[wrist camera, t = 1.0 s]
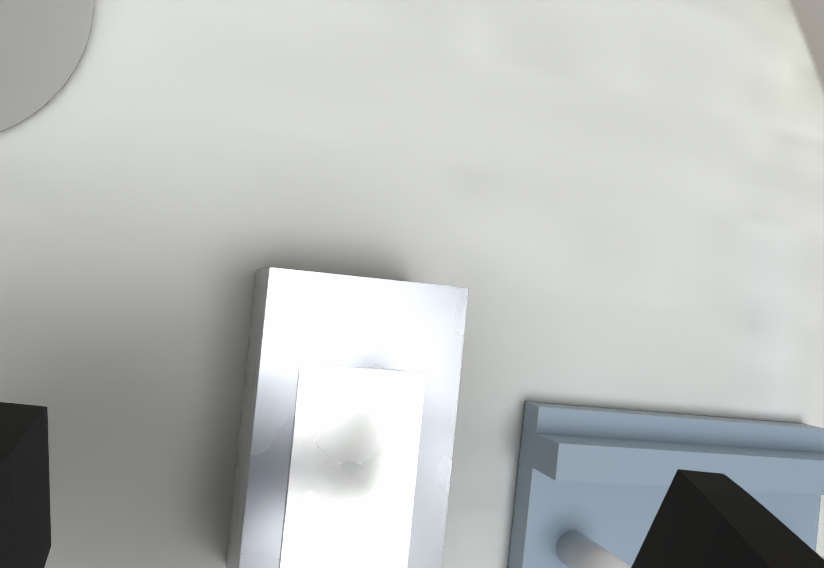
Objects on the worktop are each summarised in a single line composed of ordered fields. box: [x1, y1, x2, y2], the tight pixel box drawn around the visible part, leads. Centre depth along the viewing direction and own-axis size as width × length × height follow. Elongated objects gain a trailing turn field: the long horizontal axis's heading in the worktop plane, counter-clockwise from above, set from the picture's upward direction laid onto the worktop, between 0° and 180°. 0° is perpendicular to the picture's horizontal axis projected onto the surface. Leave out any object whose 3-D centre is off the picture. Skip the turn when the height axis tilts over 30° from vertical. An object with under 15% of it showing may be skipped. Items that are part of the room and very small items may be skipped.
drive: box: [226, 267, 469, 568], centre depth 20 cm, size 8×4×5 cm, turn 174°
